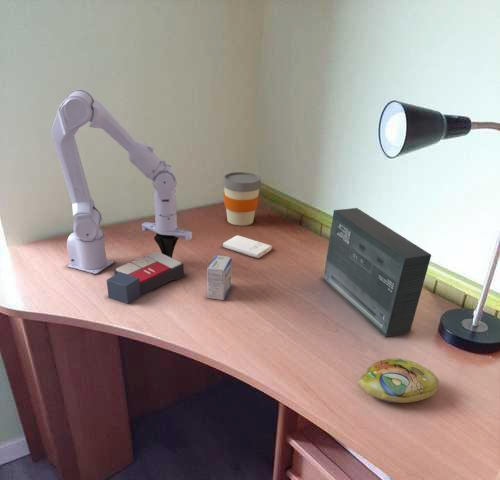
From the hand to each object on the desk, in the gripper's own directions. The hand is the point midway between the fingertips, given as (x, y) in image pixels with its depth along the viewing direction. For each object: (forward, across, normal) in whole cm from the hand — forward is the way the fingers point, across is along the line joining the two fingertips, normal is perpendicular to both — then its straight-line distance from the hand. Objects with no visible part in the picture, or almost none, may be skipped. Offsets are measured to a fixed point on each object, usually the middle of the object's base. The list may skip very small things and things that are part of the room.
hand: (168, 258), depth 138 cm
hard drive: (+2, -16, -20) cm, 26 cm away
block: (+1, 0, +21) cm, 21 cm away
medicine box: (+2, -20, +8) cm, 22 cm away
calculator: (+2, 0, +10) cm, 10 cm away
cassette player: (+2, -55, -4) cm, 55 cm away
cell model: (+2, -68, +27) cm, 73 cm away
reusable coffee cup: (+2, -5, -40) cm, 40 cm away
